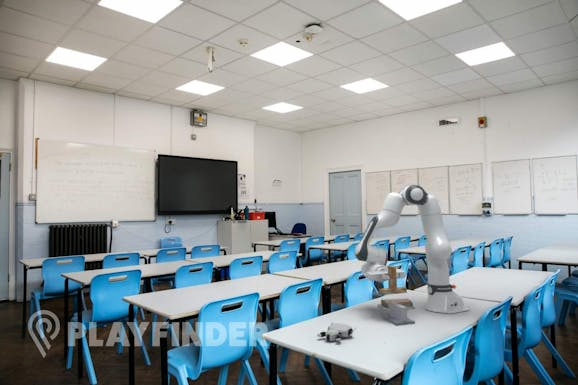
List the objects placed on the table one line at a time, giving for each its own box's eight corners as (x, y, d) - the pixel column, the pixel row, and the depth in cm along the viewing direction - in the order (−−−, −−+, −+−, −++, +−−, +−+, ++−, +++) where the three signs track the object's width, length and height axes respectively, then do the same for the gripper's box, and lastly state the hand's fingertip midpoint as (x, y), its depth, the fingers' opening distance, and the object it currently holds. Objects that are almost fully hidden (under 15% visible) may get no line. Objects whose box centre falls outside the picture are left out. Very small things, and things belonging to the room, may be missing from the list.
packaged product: (406, 296, 227) (414, 300, 217) (406, 305, 227) (414, 309, 217) (377, 298, 224) (384, 302, 214) (377, 306, 224) (384, 311, 214)
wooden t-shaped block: (403, 291, 198) (402, 265, 199) (406, 292, 195) (405, 265, 196) (378, 293, 195) (377, 266, 195) (381, 295, 192) (380, 267, 192)
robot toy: (340, 347, 160) (357, 335, 172) (339, 337, 160) (356, 325, 172) (315, 342, 167) (333, 330, 179) (315, 331, 167) (333, 320, 179)
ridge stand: (399, 316, 202) (398, 300, 202) (414, 323, 189) (414, 307, 189) (381, 317, 199) (381, 302, 200) (396, 325, 186) (395, 308, 186)
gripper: (361, 268, 205) (374, 272, 192) (396, 266, 211) (410, 269, 197) (362, 280, 205) (374, 285, 192) (396, 278, 210) (411, 282, 197)
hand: (393, 277), depth 195 cm, fingers closed on wooden t-shaped block, 3 cm apart
